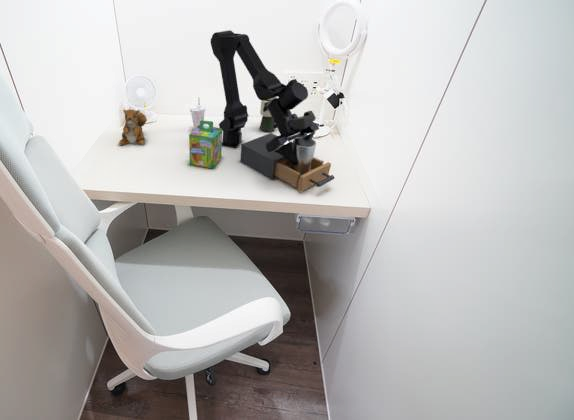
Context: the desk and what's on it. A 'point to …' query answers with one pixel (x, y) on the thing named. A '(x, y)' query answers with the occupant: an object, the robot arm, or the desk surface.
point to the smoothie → (197, 114)
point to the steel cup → (303, 154)
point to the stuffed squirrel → (133, 127)
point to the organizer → (260, 155)
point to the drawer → (314, 176)
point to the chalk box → (205, 145)
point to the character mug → (266, 117)
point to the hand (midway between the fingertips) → (304, 161)
